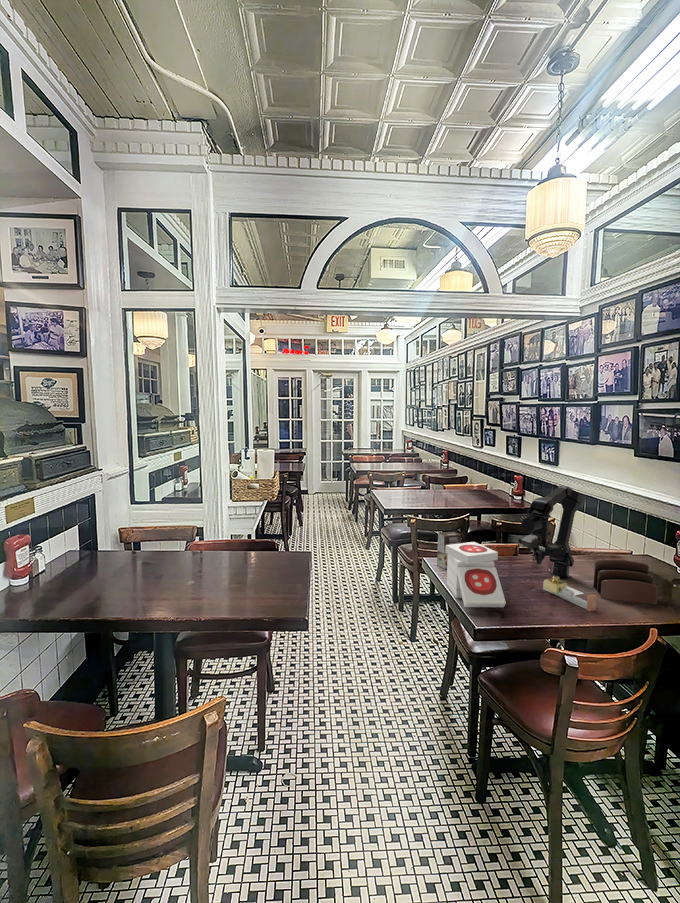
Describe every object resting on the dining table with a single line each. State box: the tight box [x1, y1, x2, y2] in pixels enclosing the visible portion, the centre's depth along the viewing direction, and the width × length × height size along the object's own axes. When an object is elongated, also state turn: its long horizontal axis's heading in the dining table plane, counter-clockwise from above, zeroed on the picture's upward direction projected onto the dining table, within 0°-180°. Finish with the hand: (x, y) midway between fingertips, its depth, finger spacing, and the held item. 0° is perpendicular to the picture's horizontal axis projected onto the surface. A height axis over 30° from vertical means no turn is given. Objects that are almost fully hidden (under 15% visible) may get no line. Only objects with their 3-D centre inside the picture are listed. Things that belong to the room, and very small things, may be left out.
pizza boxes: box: [445, 541, 507, 608], centre depth 173 cm, size 19×30×18 cm, turn 0°
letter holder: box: [592, 559, 658, 605], centre depth 175 cm, size 10×20×14 cm, turn 75°
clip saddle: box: [544, 575, 568, 594], centre depth 176 cm, size 6×6×6 cm
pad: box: [567, 585, 585, 596], centre depth 180 cm, size 9×9×1 cm
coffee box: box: [436, 531, 462, 569], centre depth 207 cm, size 9×6×16 cm
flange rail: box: [542, 579, 597, 612], centre depth 170 cm, size 11×22×6 cm, turn 23°
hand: (538, 564), depth 184 cm, fingers closed
